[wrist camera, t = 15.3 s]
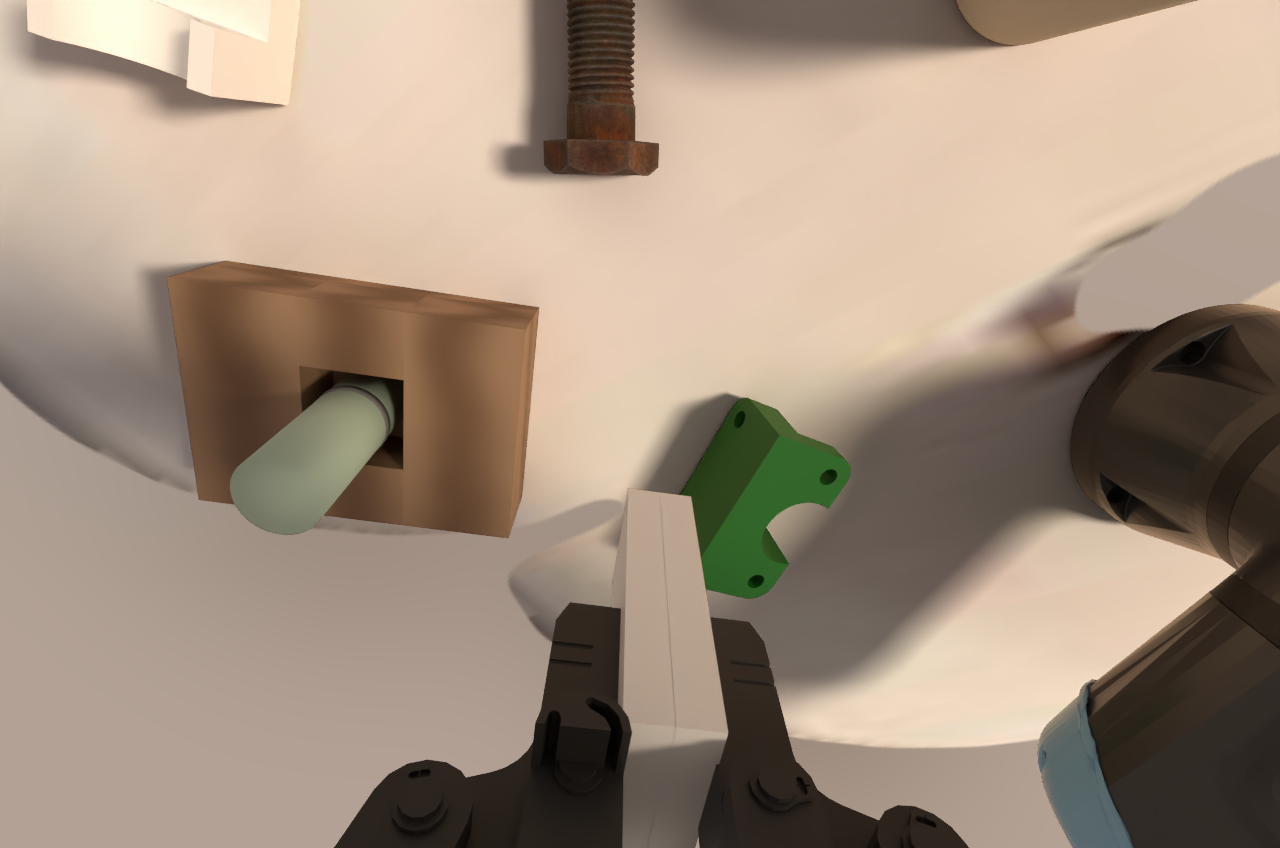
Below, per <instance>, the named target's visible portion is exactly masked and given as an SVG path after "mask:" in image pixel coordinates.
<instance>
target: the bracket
mask: <svg viewBox="0 0 1280 848" xmlns="http://www.w3.org/2000/svg"><path fill="white" fill-rule="evenodd" d="M300 3H301V0H27V25H28V31H29V32H32V33H35V34H37V35H40V36H43V37H46V38H49V39H51V40H55V41H60V42H65V43H70V44H74V45H78V46H82V47H86V48H90V49H94V50H98V51H101V52H105V53H108V54H112V55H115V56H119V57H122V58H125V59H129V60H132V61H135V62H138V63H141V64H144V65H148V66H151V67H153V68H156V69H159V70H162V71H165V72H168V73H170V74H173V75H175V76H178V77H180V78H183V79H185V80H187V88H188V89H191V90H194V91H197V92H200V93H202V94H205V95H208V96H212V97H221V98H230V99H238V100H247V101H256V102H264V103H273V104H282V105H289V99H290V90H291V81H292V73H293V64H294V55H295V46H296V38H297V29H298V20H299V12H300Z"/></svg>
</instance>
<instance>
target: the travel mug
mask: <svg viewBox="0 0 1280 848" xmlns="http://www.w3.org/2000/svg"><path fill="white" fill-rule="evenodd" d="M1193 1H1197V0H956V2H957V5H958V7H959V9H960V11H961V13H962V15H963V16H964V18H965V19H966V21H967V22H968V23H969V24H970V25H971V27H972V28H973V29H974V30H976V31H977V32H978V33H979V34H981V35H982V36H984V37H986V38H987V39H990V40H992V41H994V42H998V43H1001V44H1007V45H1024V44H1030V43H1034V42H1038V41H1042V40H1046V39H1050V38H1054V37H1058V36H1061V35H1065V34H1069V33H1073V32H1077V31H1081V30H1085V29H1089V28H1092V27H1096V26H1100V25H1104V24H1108V23H1112V22H1116V21H1119V20H1123V19H1127V18H1131V17H1135V16H1139V15H1143V14H1147V13H1150V12H1154V11H1158V10H1162V9H1166V8H1170V7H1174V6H1177V5H1181V4H1185V3H1189V2H1193Z"/></svg>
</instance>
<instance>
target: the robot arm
mask: <svg viewBox="0 0 1280 848" xmlns="http://www.w3.org/2000/svg"><path fill="white" fill-rule="evenodd" d="M1071 460H1072V466H1073V470H1074V473H1075V476H1076V478H1077V481H1078V483H1079V484H1080V486H1081V488H1082V489H1083V491H1084V492H1085V493H1086V495H1087V496H1088V497H1089V498H1090V499H1091V500H1092V501H1093V502H1094V503H1096V504H1097V505H1098V506H1099V507H1101V508H1102V509H1103V510H1105V511H1106V512H1107V513H1109V514H1110V515H1111V516H1112V517H1114V518H1115V519H1116V520H1118V521H1119V522H1121V523H1122V524H1124V525H1126V526H1128V527H1130V528H1132V529H1134V530H1136V531H1138V532H1141V533H1144V534H1147V535H1150V536H1153V537H1156V538H1159V539H1162V540H1165V541H1168V542H1171V543H1174V544H1177V545H1180V546H1183V547H1186V548H1189V549H1192V550H1195V551H1198V552H1201V553H1204V554H1207V555H1210V556H1213V557H1216V558H1219V559H1222V560H1224V561H1225V562H1226V563H1228V564H1229V565H1231V566H1232V567H1234V568H1235V569H1236V571H1235V572H1234V573H1233V574H1231V575H1230V576H1229V577H1228V578H1226V579H1225V580H1224V581H1223V582H1221V583H1220V584H1219V585H1218V586H1216V587H1215V588H1214V589H1213V590H1211V591H1210V592H1208V593H1207V594H1206V595H1205V596H1204V597H1202V598H1201V599H1200V600H1199V601H1197V602H1196V603H1195V604H1194V605H1192V606H1191V607H1190V608H1188V609H1187V610H1186V611H1185V612H1183V613H1182V614H1181V615H1180V616H1178V617H1177V618H1176V619H1175V620H1173V621H1172V622H1171V623H1169V624H1168V625H1167V626H1166V627H1164V628H1163V629H1162V630H1161V631H1159V632H1158V633H1157V634H1155V635H1154V636H1153V637H1152V638H1150V639H1149V640H1148V641H1147V642H1145V643H1144V644H1143V645H1141V646H1140V647H1139V648H1138V649H1136V650H1135V651H1134V652H1133V653H1131V654H1130V655H1129V656H1128V657H1126V658H1125V659H1124V660H1122V661H1121V662H1120V663H1119V664H1117V665H1116V666H1115V667H1114V668H1112V669H1111V670H1110V671H1108V672H1107V673H1106V674H1105V675H1103V676H1102V677H1101V678H1100V679H1098V680H1093V679H1092V680H1090V681H1089V682H1087V683H1085V684H1084V685H1083V687H1082V688H1081V690H1080V693H1079V696H1078V697H1077V698H1076V699H1075V700H1073V701H1072V702H1071V703H1070V704H1069V705H1068V706H1067V707H1066V708H1065V709H1063V710H1062V711H1061V712H1060V713H1059V714H1058V715H1057V716H1056V717H1054V718H1053V719H1052V720H1051V721H1050V722H1049V723H1048V724H1047V725H1046V726H1045V728H1044V729H1043V731H1042V733H1041V736H1040V739H1039V742H1038V751H1037V753H1038V764H1039V768H1040V772H1041V774H1042V783H1043V786H1044V789H1045V791H1046V794H1047V796H1048V799H1049V802H1050V804H1051V807H1052V809H1053V811H1054V813H1055V815H1056V817H1057V819H1058V821H1059V824H1060V825H1061V827H1062V829H1063V831H1064V833H1065V835H1066V837H1067V838H1068V840H1069V842H1070V844H1071V845H1072V847H1073V848H1280V311H1277V310H1273V309H1269V308H1265V307H1261V306H1256V305H1247V304H1229V305H1218V306H1213V307H1207V308H1203V309H1199V310H1196V311H1192V312H1189V313H1186V314H1183V315H1181V316H1178V317H1176V318H1174V319H1172V320H1169V321H1167V322H1165V323H1163V324H1161V325H1159V326H1157V327H1156V328H1154V329H1152V330H1151V331H1149V332H1147V333H1146V334H1144V335H1143V336H1141V337H1140V338H1138V339H1137V340H1136V341H1134V342H1133V343H1132V344H1130V345H1129V346H1128V347H1127V348H1126V349H1124V350H1123V351H1122V352H1121V353H1120V354H1119V355H1118V356H1117V357H1116V358H1115V359H1114V360H1113V361H1112V362H1111V363H1110V364H1109V365H1108V366H1107V367H1106V368H1105V370H1104V371H1103V372H1102V373H1101V374H1100V376H1099V377H1098V378H1097V380H1096V381H1095V382H1094V384H1093V385H1092V387H1091V388H1090V390H1089V392H1088V393H1087V395H1086V397H1085V399H1084V401H1083V403H1082V405H1081V407H1080V409H1079V412H1078V414H1077V417H1076V420H1075V424H1074V427H1073V432H1072V438H1071ZM769 665H770V663H769V659H768V656H767V652H766V648H765V644H764V641H763V640H762V639H761V637H760V636H759V635H758V633H757V632H756V631H755V629H754V628H753V627H752V626H751V624H750V623H749V622H745V621H736V620H728V619H719V618H711V617H710V614H709V607H708V601H707V595H706V588H705V582H704V576H703V569H702V563H701V557H700V550H699V544H698V538H697V531H696V525H695V519H694V512H693V506H692V500H691V496H683V495H675V494H668V493H660V492H653V491H645V490H637V489H630V488H628V492H627V498H626V504H625V510H624V516H623V522H622V528H621V534H620V540H619V546H618V552H617V558H616V564H615V570H614V576H613V582H612V599H611V607H603V606H595V605H586V604H578V603H569V604H568V606H567V607H566V608H565V609H564V611H563V612H562V613H561V614H560V616H559V617H558V618H557V619H556V624H555V630H554V636H553V642H552V647H551V653H550V660H549V665H548V671H547V678H546V683H545V689H544V695H543V702H542V708H541V711H540V714H539V716H538V718H537V721H536V724H535V732H534V740H533V743H532V745H531V746H530V748H529V750H528V751H527V752H526V753H525V754H524V755H523V756H522V757H521V758H520V759H518V760H517V761H516V762H514V763H512V764H510V765H509V766H507V767H505V768H503V769H500V770H497V771H494V772H490V773H486V774H481V775H476V776H472V777H467V778H466V777H465V776H464V775H463V773H462V772H461V771H460V770H458V769H457V768H455V767H453V766H451V765H450V764H448V763H446V762H440V761H433V760H424V761H419V762H415V763H409V764H406V765H405V766H403V767H401V768H399V769H397V770H395V771H394V772H392V773H390V774H389V775H388V776H387V777H386V778H385V779H384V780H383V781H382V782H381V783H380V784H379V785H378V786H377V787H376V788H375V789H374V791H373V792H372V794H371V795H370V796H369V798H368V799H367V801H366V802H365V804H364V805H363V807H362V808H361V809H360V811H359V812H358V814H357V815H356V817H355V818H354V820H353V821H352V823H351V824H350V825H349V827H348V828H347V830H346V831H345V833H344V834H343V836H342V837H341V839H340V840H339V841H338V843H337V844H336V846H335V847H334V848H695V846H696V843H697V839H698V836H699V845H700V848H969V847H968V846H967V844H966V843H965V842H964V841H963V840H962V839H961V838H960V836H959V835H958V834H957V833H956V832H955V831H954V830H953V828H952V827H951V826H949V825H948V824H946V823H945V822H944V821H942V820H941V819H940V818H938V817H937V816H935V815H934V814H932V813H930V812H927V811H925V810H922V809H920V808H917V807H915V806H900V805H898V806H895V807H893V808H891V809H889V810H886V811H885V812H884V814H883V815H882V817H881V819H880V820H876V819H874V818H872V817H869V816H867V815H864V814H862V813H859V812H857V811H855V810H852V809H850V808H847V807H845V806H842V805H840V804H839V803H836V802H835V801H833V800H831V799H829V798H827V797H826V796H825V795H823V794H822V793H821V792H819V791H818V790H817V788H816V786H815V784H814V782H813V780H812V778H811V777H810V775H809V774H808V773H807V772H806V771H805V770H804V769H803V768H802V767H801V766H800V765H799V764H798V763H797V762H796V760H795V758H794V755H793V752H792V748H791V744H790V741H789V737H788V733H787V729H786V725H785V721H784V717H783V714H782V710H781V706H780V702H779V698H778V694H777V690H776V687H775V686H774V679H773V675H772V671H771V668H769Z"/></svg>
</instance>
